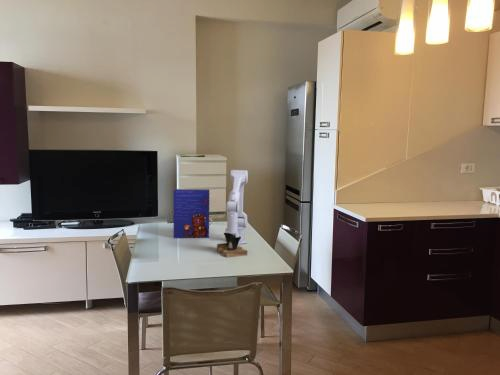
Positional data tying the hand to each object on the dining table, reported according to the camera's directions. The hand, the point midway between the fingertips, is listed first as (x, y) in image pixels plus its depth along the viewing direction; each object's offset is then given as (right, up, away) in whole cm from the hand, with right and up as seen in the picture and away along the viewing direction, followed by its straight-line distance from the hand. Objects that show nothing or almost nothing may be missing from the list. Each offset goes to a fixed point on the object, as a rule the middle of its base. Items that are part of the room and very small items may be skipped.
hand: (232, 247), depth 241 cm
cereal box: (-27, +2, +34) cm, 43 cm away
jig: (0, -3, 0) cm, 3 cm away
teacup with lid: (-22, +4, +55) cm, 59 cm away
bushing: (0, -3, 0) cm, 3 cm away
